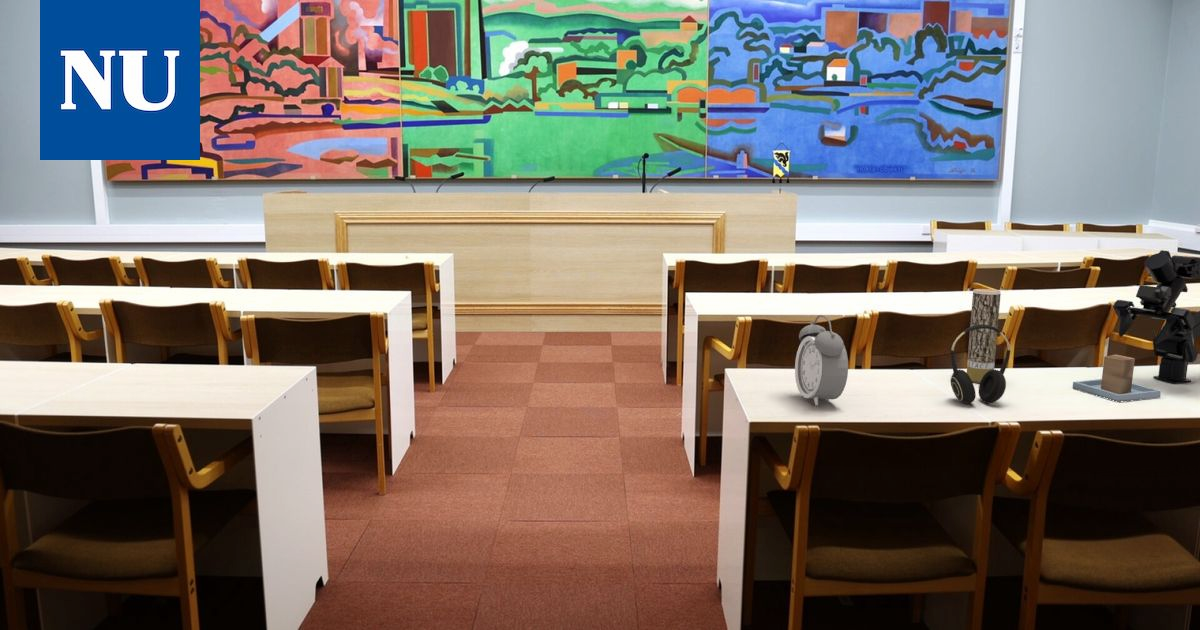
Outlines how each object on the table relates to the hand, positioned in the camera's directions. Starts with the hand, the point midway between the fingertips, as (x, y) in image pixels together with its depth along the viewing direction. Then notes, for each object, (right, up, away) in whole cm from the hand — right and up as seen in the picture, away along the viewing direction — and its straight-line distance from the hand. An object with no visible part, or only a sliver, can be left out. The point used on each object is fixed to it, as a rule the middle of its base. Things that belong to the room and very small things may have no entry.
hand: (1137, 338), depth 229 cm
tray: (-7, -14, -1) cm, 16 cm away
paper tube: (-37, -12, +10) cm, 40 cm away
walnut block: (-7, -14, -2) cm, 15 cm away
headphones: (-47, -16, -10) cm, 51 cm away
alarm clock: (-86, -16, -10) cm, 88 cm away
